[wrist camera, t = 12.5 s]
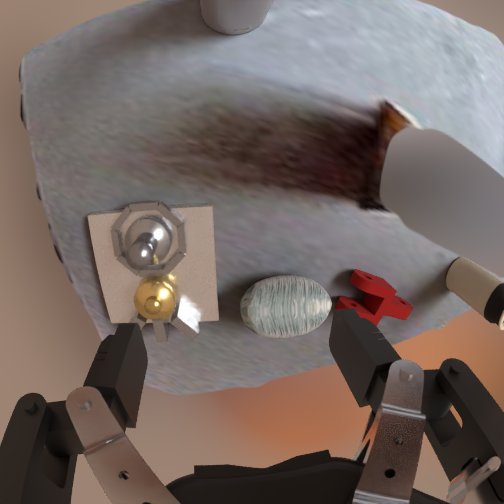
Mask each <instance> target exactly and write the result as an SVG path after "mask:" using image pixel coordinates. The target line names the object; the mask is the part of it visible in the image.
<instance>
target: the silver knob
mask: <svg viewBox="0 0 504 504" xmlns="http://www.w3.org/2000/svg"><path fill="white" fill-rule="evenodd" d="M124 243H125V248H126V251H127V253H126V261H127V263H128V265H129V266H130V267H131V268H133V269H135V270H143V269H145V268H147V267H148V265H155V264H158V263H160V262H161V261H163V260H164V259H165V258H166V256H167V255H168V253H169V250H170V247H171V244H172V234H171V231H170V229H169V227H168V226H167V225H166V223H165V222H163V221H162V220H161V219H159V218H156V217H153V216H144V217H141V218H139V219H137V220H136V221H134V222H133V224H132V225H131V226H130V227H129V228H128V230H127V232H126V234H125V239H124Z"/></svg>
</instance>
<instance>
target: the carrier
mask: <svg viewBox="0 0 504 504" xmlns="http://www.w3.org/2000/svg"><path fill="white" fill-rule="evenodd" d="M144 216H153V217H156V218H159V219H161V220H162V221H163V222H165V223H166V225H167V226H168V227H169V229H170V231H171V234H172V244H171V247H170V250H169V253H168V255H167V256H166V258H165V259H164V260H163V261H161V262H160V263H158V264H155V265H148V267H147V268H145V269H143V270H135V269H133V268H131V267H130V266H129V265H128V263H127V261H126V253H127V251H126V248H125V243H124V239H125V234H126V232H127V230H128V228H129V227H130V226H131V225H132V224H133V222H134V221H136V220H137V219H139V218H141V217H144ZM88 222H89V228H90V234H91V240H92V245H93V250H94V255H95V260H96V265H97V269H98V274H99V278H100V282H101V287H102V291H103V294H104V298H105V302H106V306H107V309H108V313H109V316H110V320H111V323H138V324H139V326H140V329H142V328H143V327H144V325H145V324H146V323H153V327H154V331H155V335H156V339H157V342H167V340H168V334H169V327H168V323H171V324H172V325H174V326H175V327H176V328H177V329H179V330H180V331H181V332H182V333H184V334H185V335H186V336H187V337H189V338H190V339H191V340H193V339H194V338H195V337H197V336H198V335H199V330H200V323H199V322H200V321H219V311H218V297H217V282H216V266H215V248H214V227H213V203H205V204H187V205H171V206H167V205H165V204H164V203H163V202H161V203H160V204H159V201H147V202H135V203H131V204H129V205H128V206H127V207H126V208H125V209H120V210H109V211H99V212H92V213H91V214H89V215H88Z"/></svg>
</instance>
